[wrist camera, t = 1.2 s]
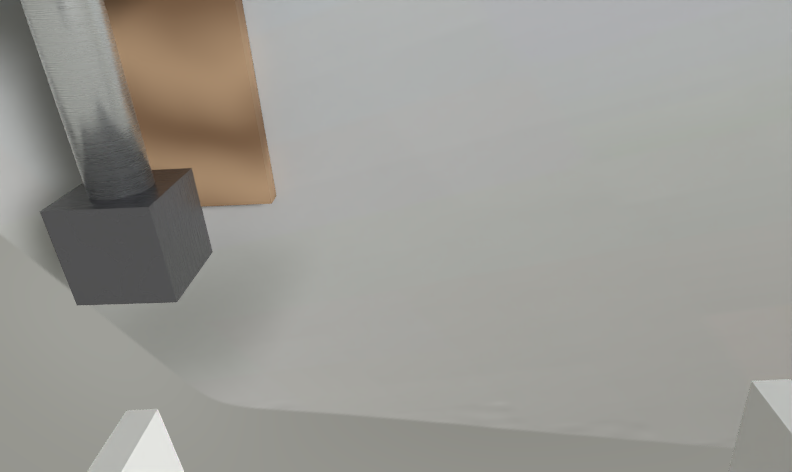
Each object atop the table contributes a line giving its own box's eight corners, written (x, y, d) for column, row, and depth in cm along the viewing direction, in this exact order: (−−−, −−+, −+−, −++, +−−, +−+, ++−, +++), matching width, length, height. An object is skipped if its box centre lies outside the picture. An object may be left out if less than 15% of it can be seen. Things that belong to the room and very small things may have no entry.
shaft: (-73, -351, 20) (-219, -444, 15) (60, -367, 19) (-49, -464, 15) (126, 255, 31) (77, 305, 26) (212, 252, 30) (177, 302, 26)
